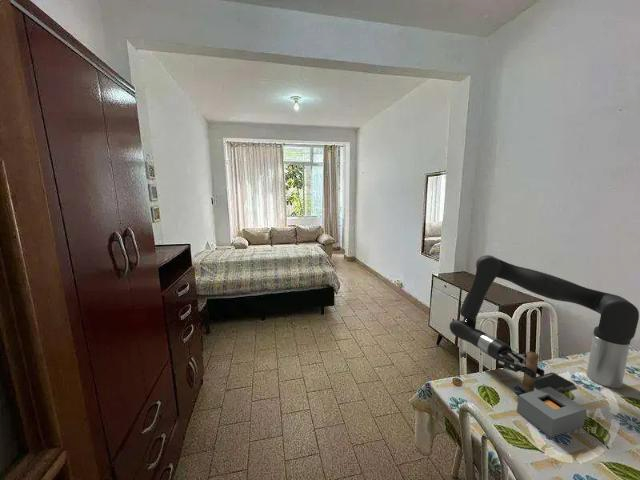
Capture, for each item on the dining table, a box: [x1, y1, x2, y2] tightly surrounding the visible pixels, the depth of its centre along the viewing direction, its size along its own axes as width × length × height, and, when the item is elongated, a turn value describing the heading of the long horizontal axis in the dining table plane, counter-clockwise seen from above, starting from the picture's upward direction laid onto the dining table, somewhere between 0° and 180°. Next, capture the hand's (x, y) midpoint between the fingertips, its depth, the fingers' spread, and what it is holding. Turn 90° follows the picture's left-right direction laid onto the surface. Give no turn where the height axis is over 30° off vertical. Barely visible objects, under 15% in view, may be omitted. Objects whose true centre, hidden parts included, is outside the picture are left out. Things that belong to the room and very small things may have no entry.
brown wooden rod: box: [521, 350, 540, 393], centre depth 92 cm, size 3×3×14 cm
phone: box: [534, 372, 576, 393], centre depth 98 cm, size 8×1×15 cm
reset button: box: [543, 400, 560, 409], centre depth 82 cm, size 4×4×4 cm
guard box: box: [516, 387, 587, 439], centre depth 82 cm, size 14×10×6 cm
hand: (539, 374), depth 89 cm, fingers closed on brown wooden rod, 3 cm apart
